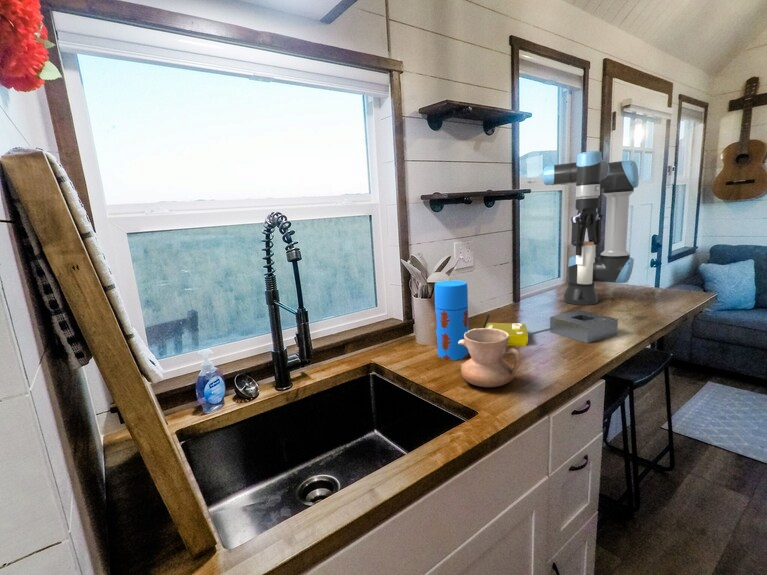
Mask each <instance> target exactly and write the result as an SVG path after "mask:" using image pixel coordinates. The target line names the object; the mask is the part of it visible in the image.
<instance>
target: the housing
mask: <svg viewBox="0 0 767 575" xmlns="http://www.w3.org/2000/svg"><path fill="white" fill-rule="evenodd" d="M618 323H619V319H618V318H616V317H611V316H606V315H602V314H597V313H594V312H589V311H584V310H580V309H579V310H575V311H574V310H573V311H569V312H564V313H561V314H557V315H553V316H550V317H549V327H550V330H549V332H550V333H552V334H555V335H559V336H562V337H566V338H568V339H571V340H574V341H577V342H582V343H584V344H590V343H593V342H597V341H600V340H603V338H604V339H606V337H607V338H610V336H611V337H614V336H617V335H618V328H619V327H618V325H619V324H618ZM613 335H614V336H613Z"/></svg>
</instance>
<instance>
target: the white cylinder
mask: <svg viewBox="0 0 767 575" xmlns="http://www.w3.org/2000/svg"><path fill="white" fill-rule="evenodd" d="M583 246H585V250H584V265H580V264H578V266H577V283H578V284H592V279H593V255H594V242H592V241H589V240H587V241H586V240H584V242H583Z"/></svg>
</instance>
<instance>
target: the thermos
mask: <svg viewBox="0 0 767 575" xmlns="http://www.w3.org/2000/svg"><path fill="white" fill-rule="evenodd" d="M450 280H451V279H450ZM468 290H469V288H468V282H467V281H464V280H459V279H457V280H455V279H454V280H453V279H452V280H451V281H448V280H441V282H440V281H437V282H434V309H435V334H436V335H435V336H436V337H435V338H436V341H435V342H436V350H437V351H436V352H437V356H438V357H439V358H440V357H441V359H443V358H444V359H443V360H447V359H449V360H448V361H459V360H458V359H460V360H463V358H464V359H466V358H467V357H468V356H469V351H468V348H466V347H465V346H464V345H460V344H458V342H459V340H464V334H465V333H466V332H468V331H469V306H468V305H469V295H468V293H469V291H468Z"/></svg>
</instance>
